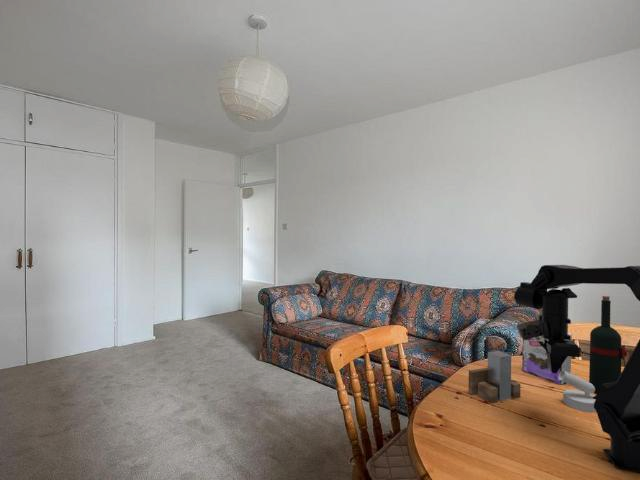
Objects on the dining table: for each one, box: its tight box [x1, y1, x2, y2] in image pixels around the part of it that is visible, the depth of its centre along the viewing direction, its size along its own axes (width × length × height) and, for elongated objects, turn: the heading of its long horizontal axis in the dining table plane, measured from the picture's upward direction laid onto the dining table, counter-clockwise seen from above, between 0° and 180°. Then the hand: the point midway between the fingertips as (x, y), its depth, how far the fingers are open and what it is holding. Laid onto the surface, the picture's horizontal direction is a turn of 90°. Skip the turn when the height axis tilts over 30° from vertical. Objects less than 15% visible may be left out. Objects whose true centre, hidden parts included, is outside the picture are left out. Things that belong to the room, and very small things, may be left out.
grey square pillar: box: [487, 350, 512, 402], centre depth 107 cm, size 4×4×13 cm
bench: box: [468, 366, 521, 404], centre depth 108 cm, size 8×14×7 cm, turn 110°
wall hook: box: [558, 370, 597, 413], centre depth 102 cm, size 9×10×10 cm
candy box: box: [521, 332, 573, 385], centre depth 123 cm, size 14×6×16 cm, turn 25°
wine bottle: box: [588, 295, 628, 395], centre depth 110 cm, size 8×10×30 cm
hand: (553, 372), depth 92 cm, fingers closed
